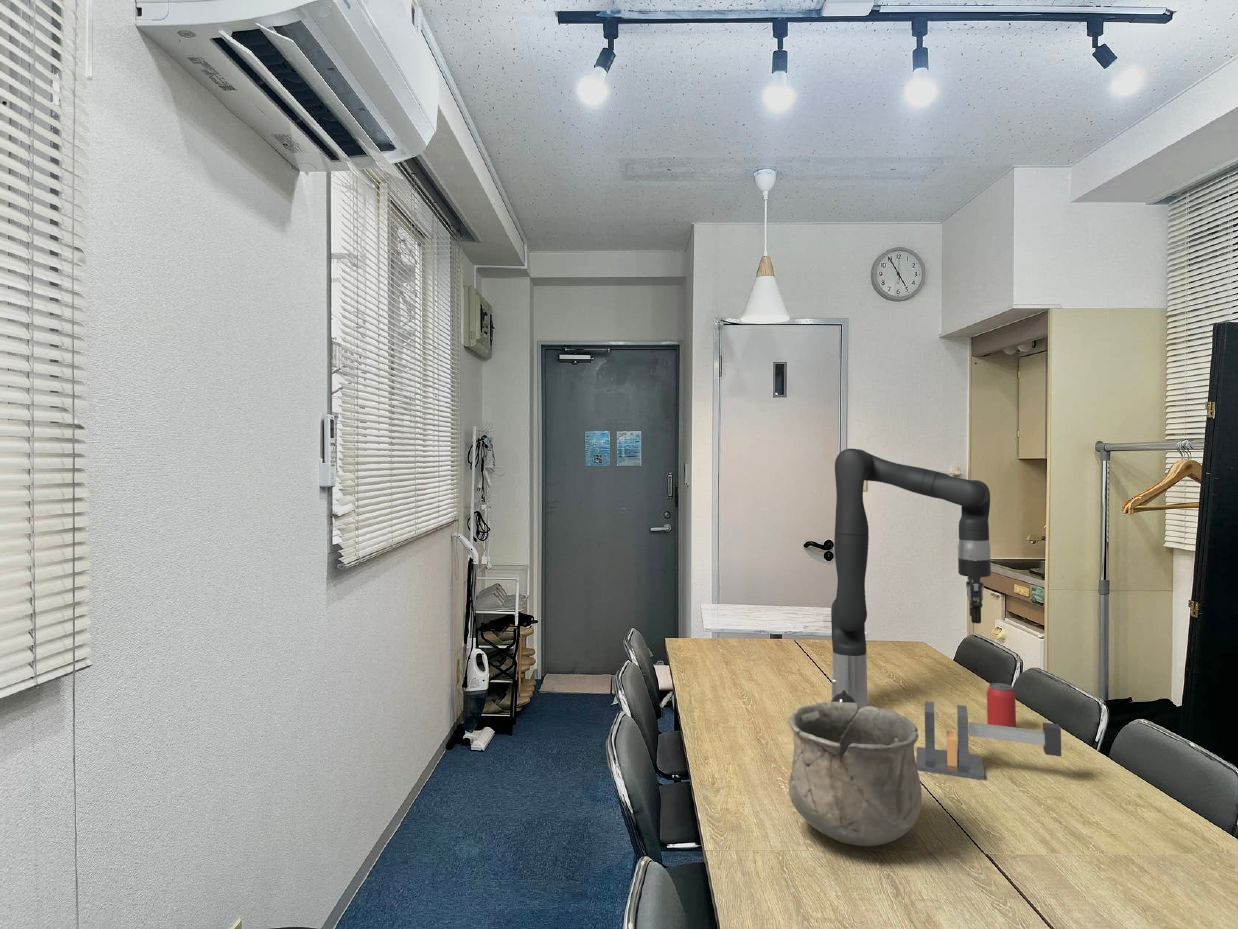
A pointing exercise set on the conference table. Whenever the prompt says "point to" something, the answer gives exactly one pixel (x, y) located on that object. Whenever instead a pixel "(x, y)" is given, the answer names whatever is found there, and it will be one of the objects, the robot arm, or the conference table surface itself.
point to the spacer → (951, 748)
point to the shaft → (1022, 735)
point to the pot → (855, 772)
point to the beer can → (1001, 705)
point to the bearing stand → (937, 759)
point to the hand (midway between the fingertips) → (975, 619)
